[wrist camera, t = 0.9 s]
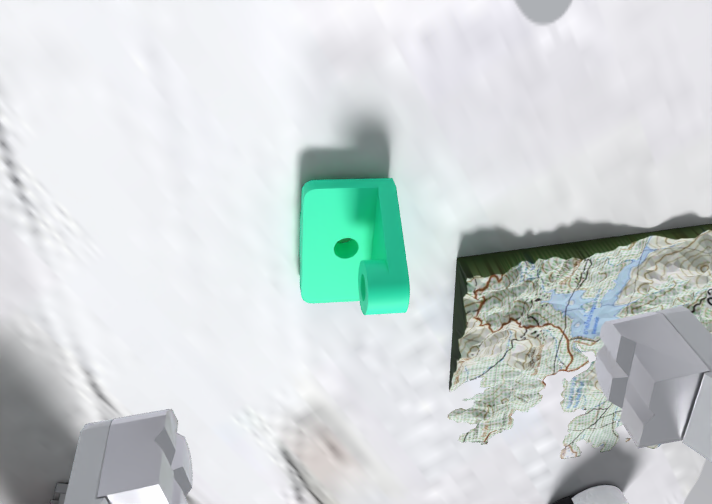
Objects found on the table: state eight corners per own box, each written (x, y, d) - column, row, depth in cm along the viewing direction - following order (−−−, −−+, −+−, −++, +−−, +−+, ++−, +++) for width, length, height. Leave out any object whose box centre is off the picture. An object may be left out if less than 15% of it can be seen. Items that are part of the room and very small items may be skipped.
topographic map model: (654, 438, 86) (675, 470, 82) (441, 474, 83) (452, 509, 79) (735, 216, 65) (769, 244, 61) (454, 253, 62) (470, 285, 58)
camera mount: (300, 173, 53) (313, 243, 45) (389, 171, 55) (418, 239, 46) (298, 286, 60) (309, 364, 52) (377, 282, 62) (400, 358, 53)
